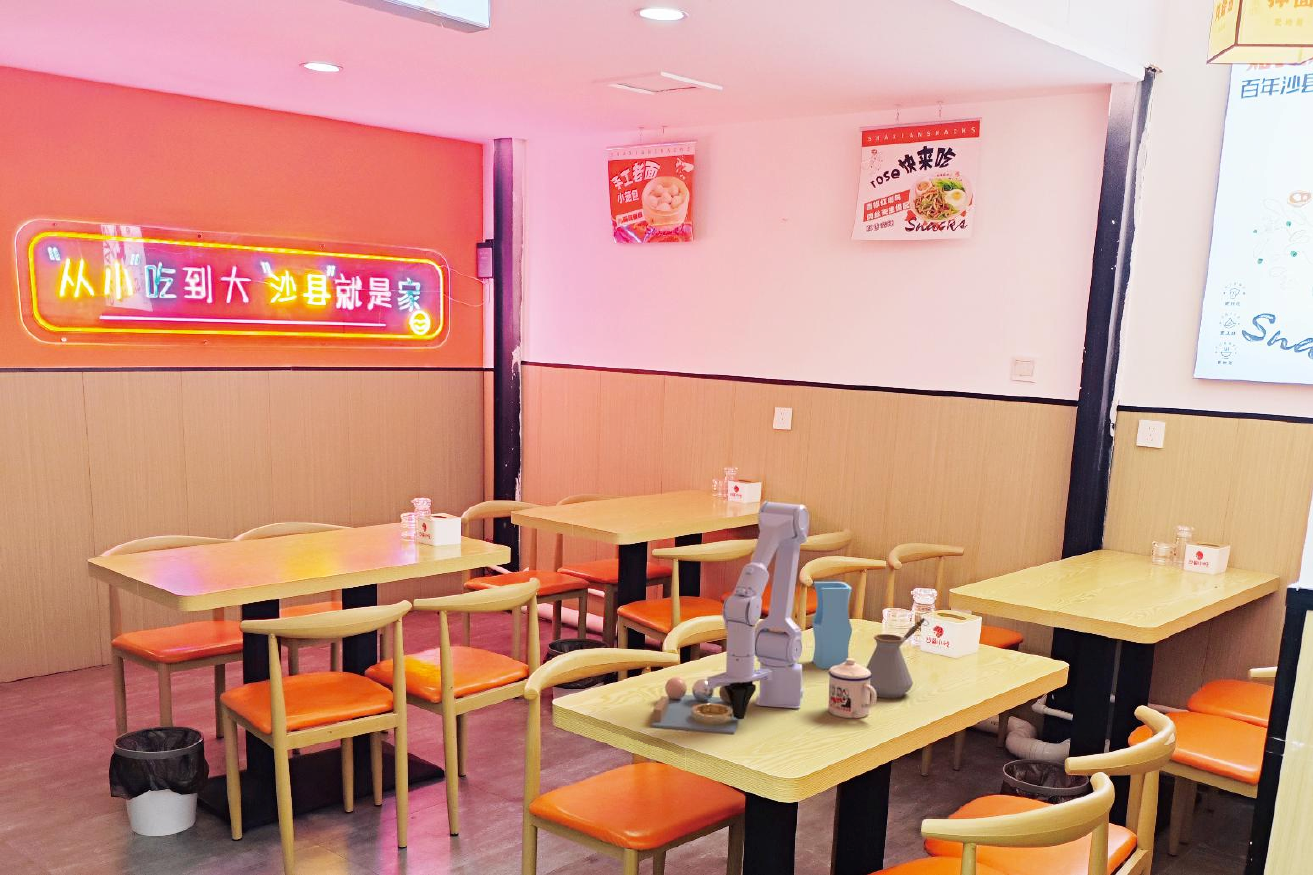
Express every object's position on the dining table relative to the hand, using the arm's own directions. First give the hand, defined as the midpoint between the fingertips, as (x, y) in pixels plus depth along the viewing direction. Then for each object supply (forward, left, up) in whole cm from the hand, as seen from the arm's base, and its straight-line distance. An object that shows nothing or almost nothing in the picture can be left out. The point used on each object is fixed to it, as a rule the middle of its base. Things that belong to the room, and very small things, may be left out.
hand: (738, 717), depth 222 cm
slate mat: (+9, -4, -1) cm, 10 cm away
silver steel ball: (+9, -11, +2) cm, 15 cm away
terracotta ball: (+15, -11, +2) cm, 19 cm away
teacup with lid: (-23, -12, -2) cm, 26 cm away
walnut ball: (+3, -11, +2) cm, 12 cm away
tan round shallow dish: (+6, 0, -1) cm, 6 cm away
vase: (-17, -49, -2) cm, 52 cm away
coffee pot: (-33, -33, -2) cm, 47 cm away
